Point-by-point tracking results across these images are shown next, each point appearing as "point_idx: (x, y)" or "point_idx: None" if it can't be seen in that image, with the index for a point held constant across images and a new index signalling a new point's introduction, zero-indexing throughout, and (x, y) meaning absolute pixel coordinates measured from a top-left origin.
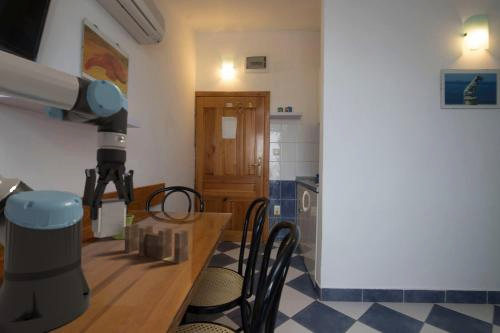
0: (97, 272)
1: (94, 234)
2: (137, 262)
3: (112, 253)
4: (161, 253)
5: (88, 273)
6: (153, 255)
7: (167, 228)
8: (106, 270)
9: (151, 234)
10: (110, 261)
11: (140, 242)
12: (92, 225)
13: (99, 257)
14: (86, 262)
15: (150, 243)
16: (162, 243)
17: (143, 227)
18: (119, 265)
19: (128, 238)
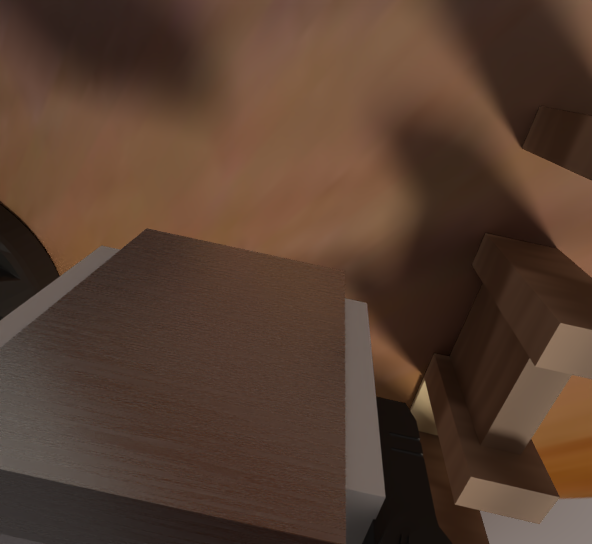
0: (220, 198)
1: (139, 239)
2: (377, 290)
3: (510, 31)
4: (432, 391)
5: (197, 167)
6: (468, 323)
7: (542, 501)
8: (252, 220)
9: (521, 383)
10: (361, 146)
11: (507, 279)
12: (71, 274)
13: (414, 7)
14: (313, 5)
15: (496, 341)
16: (440, 436)
17: (570, 351)
18: (321, 235)
19: (570, 163)
